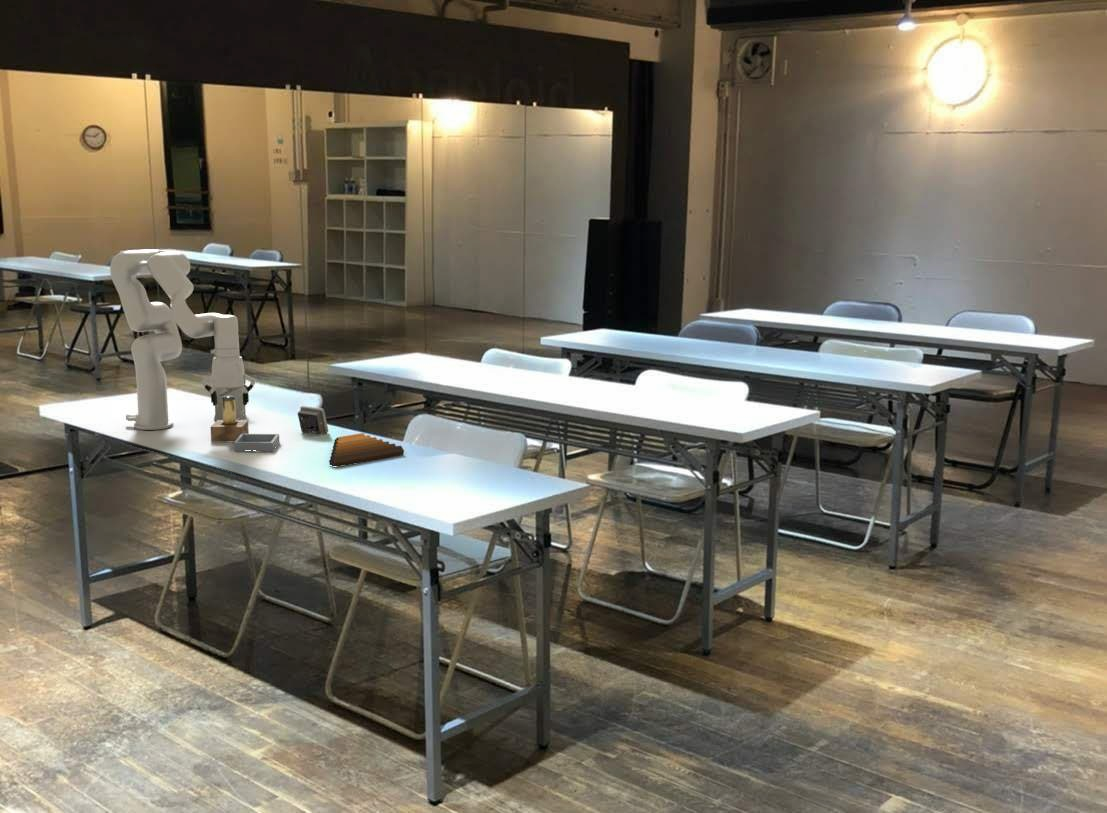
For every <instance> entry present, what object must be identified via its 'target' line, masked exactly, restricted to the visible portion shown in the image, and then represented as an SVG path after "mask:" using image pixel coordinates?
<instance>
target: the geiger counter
mask: <svg viewBox="0 0 1107 813" xmlns="http://www.w3.org/2000/svg"><path fill="white" fill-rule="evenodd" d="M245 385H246V386H247V387H248V386H249V385H247V384H245ZM216 393H217V405H215V406H214V414H215V415H214V418H213V421H214V423H215V422H216V421H217V420H223V402H222V397H223V396H235V409H236V419H237V420H239V419H240V417H241V416H243V415H244V416H246V415H245V414H246V405H243V393H244V392H243V391H242V389H241V388H217V389H216ZM244 416H243V417H244ZM238 418H239V419H238ZM241 418H242V417H241Z"/></svg>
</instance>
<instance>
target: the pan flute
mask: <svg viewBox="0 0 1107 813" xmlns="http://www.w3.org/2000/svg"><path fill="white" fill-rule="evenodd" d="M404 454H405V449H404V448H403V446H402V445H396V443H390V441H384V440H383V439H382V438H379V439H377V437H376V436H374V437H371V435H370V434H367V435H365V433H364V432H362V433H355V434H350V435H343V436H342V435H341V436H337V437H336V438H335V439H334V442H333V446H332V449H331V453H330V455H331V456H329V458H330V459H329V460H328V463H329V466H330V465H332V466H341V465H347V466H350V465H349V464H352V465H355V464H354V463H358V464H362V463H361V462H363V463H368V462H367V461H369V462H373V460H374V461H378V460H384V459H388V458H389V459H390V458H395V457H401V456H404ZM341 467H342V466H341Z"/></svg>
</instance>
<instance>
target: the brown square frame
mask: <svg viewBox="0 0 1107 813" xmlns="http://www.w3.org/2000/svg"><path fill="white" fill-rule="evenodd" d="M249 430H250V429H249V420H247V419H237V420H236V425H223V420H217V421H216V422H215V421H214V423H213V424H211V426H210V442H211V441H235V440H236V439H237V438H238V437H239V436H240V435H241V434H250V433H249Z"/></svg>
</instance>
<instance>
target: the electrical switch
mask: <svg viewBox="0 0 1107 813" xmlns="http://www.w3.org/2000/svg"><path fill="white" fill-rule="evenodd" d="M297 417H298V422H299V426H300V429H301V430H300V431H301V433H302V432H303V434H310V435H318V436H321V435H323V434H328V433H329V427H328V422H327V417H326V413H325V409H324V408H322V407H321V408H320V407H315V406H314V407H312V406H305V405H304V406H303V405H301V406H300V408H299V411H298V412H297Z"/></svg>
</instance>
